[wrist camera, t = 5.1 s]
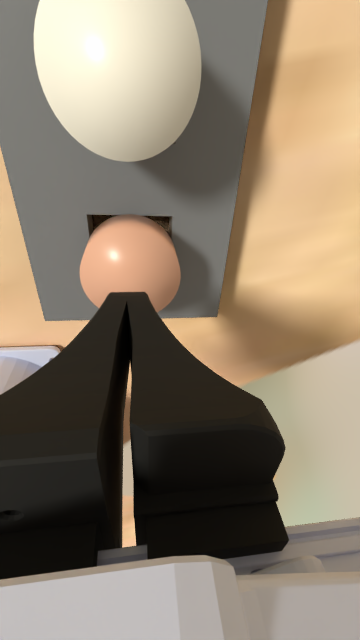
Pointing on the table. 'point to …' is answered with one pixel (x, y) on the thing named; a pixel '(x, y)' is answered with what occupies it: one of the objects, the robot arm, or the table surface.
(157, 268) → the button terracotta
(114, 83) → the button cream
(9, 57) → the panel
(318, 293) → the table surface
